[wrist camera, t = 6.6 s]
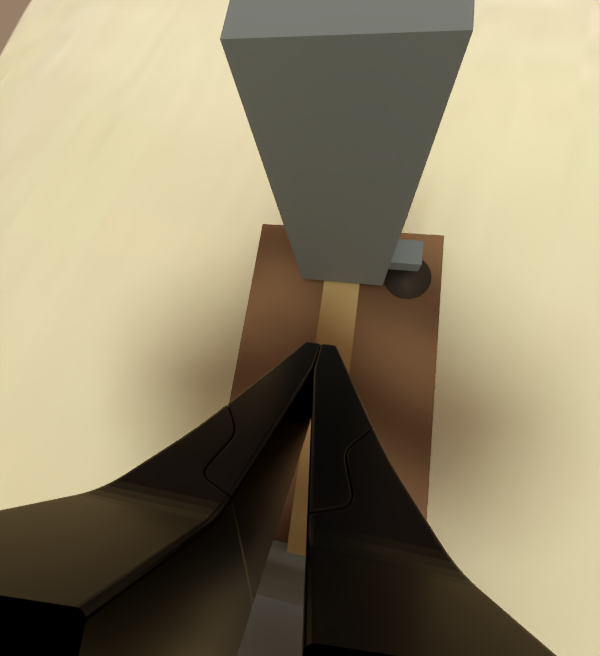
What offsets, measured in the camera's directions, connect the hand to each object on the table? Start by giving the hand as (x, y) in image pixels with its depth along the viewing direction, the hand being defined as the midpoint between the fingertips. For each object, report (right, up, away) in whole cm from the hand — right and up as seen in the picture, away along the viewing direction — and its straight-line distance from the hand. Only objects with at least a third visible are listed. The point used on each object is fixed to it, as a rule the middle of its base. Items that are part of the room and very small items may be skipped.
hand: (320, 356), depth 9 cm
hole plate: (+1, -3, +8) cm, 8 cm away
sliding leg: (+3, +4, +7) cm, 9 cm away
